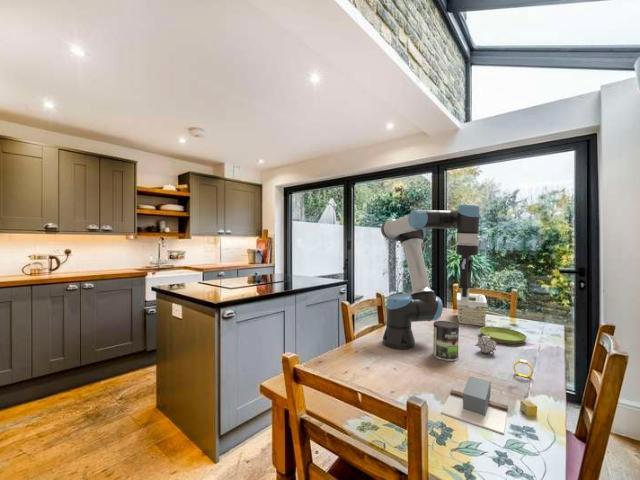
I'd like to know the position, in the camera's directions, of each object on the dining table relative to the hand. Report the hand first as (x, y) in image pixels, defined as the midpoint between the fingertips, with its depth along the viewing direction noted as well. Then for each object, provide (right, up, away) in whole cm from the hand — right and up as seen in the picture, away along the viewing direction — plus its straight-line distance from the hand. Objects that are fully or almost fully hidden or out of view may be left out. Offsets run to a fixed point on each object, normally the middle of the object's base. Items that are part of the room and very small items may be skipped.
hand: (464, 304), depth 118 cm
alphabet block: (+6, -27, -28) cm, 39 cm away
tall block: (-5, -22, -20) cm, 30 cm away
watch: (+20, -26, -5) cm, 33 cm away
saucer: (+37, -26, +36) cm, 57 cm away
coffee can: (-2, -26, +13) cm, 29 cm away
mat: (-11, -26, -28) cm, 40 cm away
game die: (+18, -26, +17) cm, 36 cm away
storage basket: (+37, -25, +69) cm, 82 cm away
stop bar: (-7, -26, -23) cm, 35 cm away
